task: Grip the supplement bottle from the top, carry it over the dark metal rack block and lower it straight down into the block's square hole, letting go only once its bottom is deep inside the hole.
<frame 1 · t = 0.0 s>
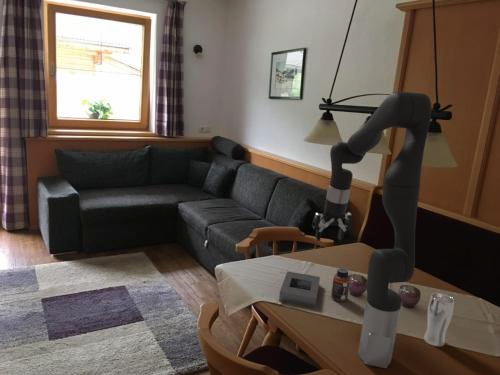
hand: (328, 239, 147), 22 cm above the table, tool pointing down, fingers open, 8 cm apart
supplement bottle: (339, 298, 151), on the table
beer glass: (433, 341, 129), on the table
rack block: (299, 292, 153), on the table
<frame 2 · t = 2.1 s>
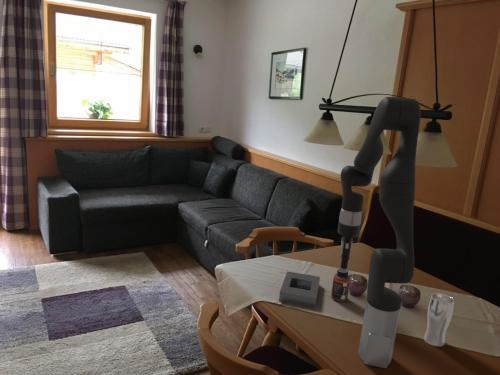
hand: (343, 263, 148), 14 cm above the table, tool pointing down, fingers open, 8 cm apart
nothing on the table moved.
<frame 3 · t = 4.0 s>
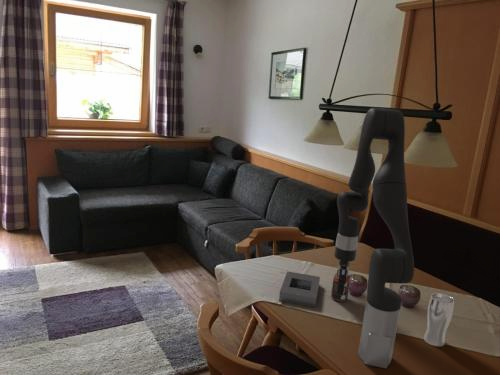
hand: (340, 288, 150), 4 cm above the table, tool pointing down, fingers closed on supplement bottle, 6 cm apart
supplement bottle: (339, 298, 151), on the table, touching gripper
everything else where it was.
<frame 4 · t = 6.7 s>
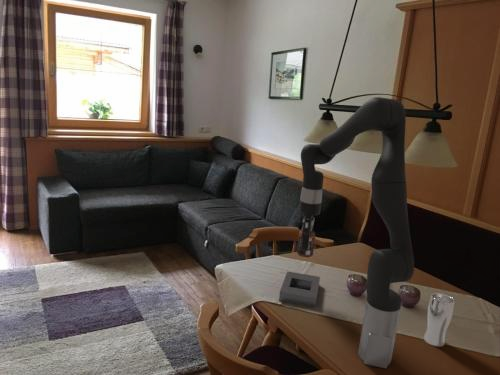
hand: (305, 244, 149), 19 cm above the table, tool pointing down, fingers closed on supplement bottle, 6 cm apart
supplement bottle: (304, 255, 150), point 15 cm above the table, touching gripper
everything else where it was.
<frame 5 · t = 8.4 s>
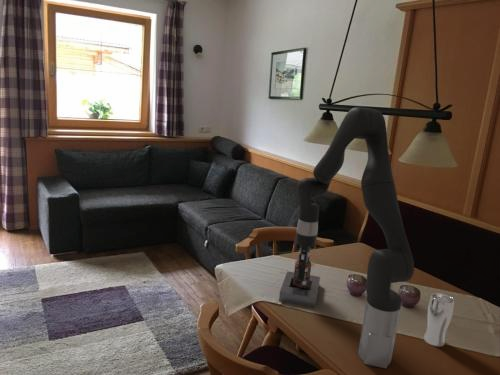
hand: (302, 273, 152), 8 cm above the table, tool pointing down, fingers closed on supplement bottle, 6 cm apart
supplement bottle: (300, 284, 153), point 3 cm above the table, touching gripper
everything else where it was.
when the fingers open (5 cm above the table, at t = 9.8 s): supplement bottle stays where it is, resting in rack block.
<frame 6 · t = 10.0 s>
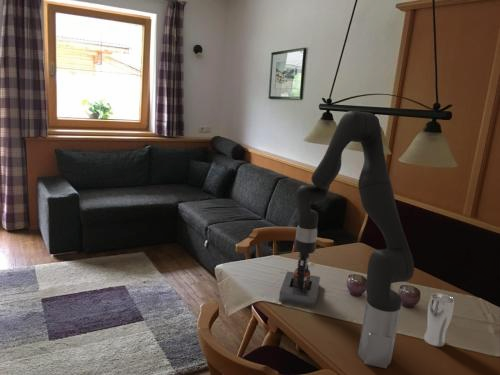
hand: (301, 279, 152), 5 cm above the table, tool pointing down, fingers open, 7 cm apart
supplement bottle: (300, 293, 153), resting in rack block
everything else where it was.
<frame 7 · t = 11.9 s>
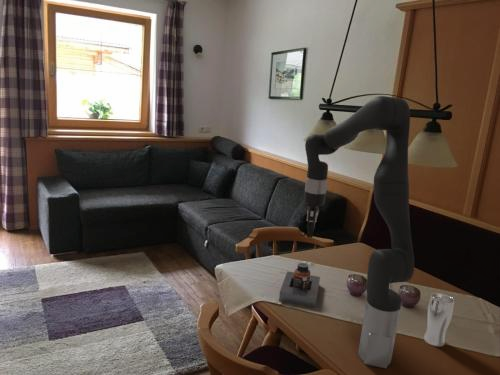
hand: (310, 233, 149), 23 cm above the table, tool pointing down, fingers open, 8 cm apart
nothing on the table moved.
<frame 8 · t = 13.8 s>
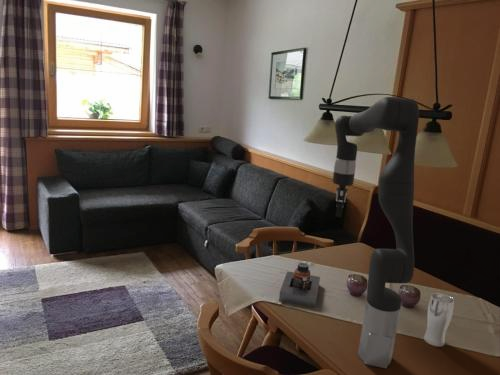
hand: (338, 213, 153), 30 cm above the table, tool pointing down, fingers open, 8 cm apart
nothing on the table moved.
at the end: supplement bottle 0.1 cm off-centre on the rack block, point 0.0 cm above the rack block's base; supplement bottle tilted 0°; the gripper is holding nothing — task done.
